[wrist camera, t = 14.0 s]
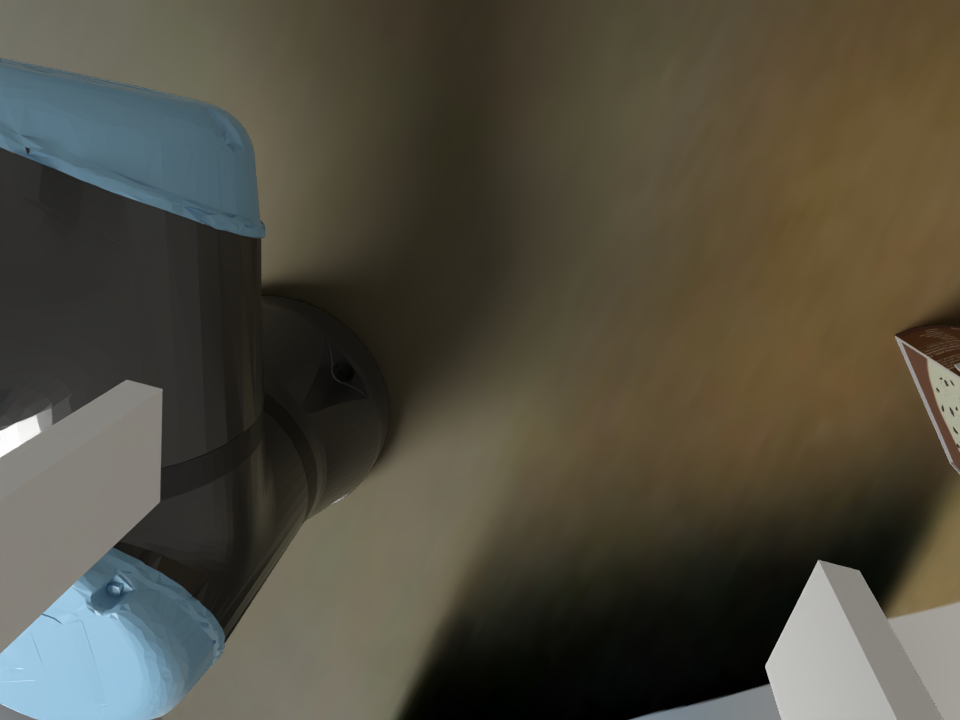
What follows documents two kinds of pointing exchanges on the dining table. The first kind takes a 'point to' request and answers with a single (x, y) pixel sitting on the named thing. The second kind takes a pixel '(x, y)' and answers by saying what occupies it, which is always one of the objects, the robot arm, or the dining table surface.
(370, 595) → the dining table surface
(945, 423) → the food container
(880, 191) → the dining table surface
